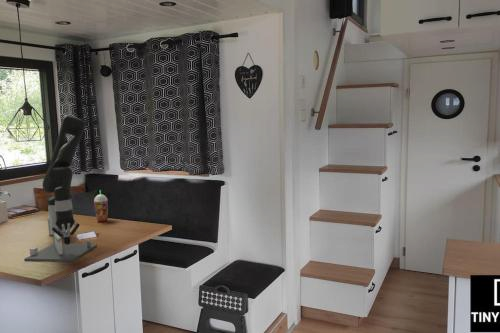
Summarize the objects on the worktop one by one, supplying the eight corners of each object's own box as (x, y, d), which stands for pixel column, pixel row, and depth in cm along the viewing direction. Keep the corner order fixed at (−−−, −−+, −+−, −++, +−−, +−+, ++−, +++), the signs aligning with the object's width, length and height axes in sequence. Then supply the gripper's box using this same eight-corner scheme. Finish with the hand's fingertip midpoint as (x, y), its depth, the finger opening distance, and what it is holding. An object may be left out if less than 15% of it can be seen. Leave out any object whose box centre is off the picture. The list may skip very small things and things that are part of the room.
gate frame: (23, 260, 202) (21, 240, 200) (52, 245, 224) (50, 227, 223) (72, 261, 198) (70, 241, 197) (97, 246, 221) (95, 228, 219)
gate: (55, 247, 216) (53, 233, 216) (59, 246, 217) (57, 232, 216) (58, 254, 204) (57, 239, 203) (63, 254, 205) (61, 239, 204)
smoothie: (97, 219, 278) (95, 189, 275) (110, 219, 278) (108, 188, 276) (93, 223, 269) (91, 191, 267) (107, 222, 270) (105, 190, 268)
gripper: (77, 205, 212) (81, 239, 214) (48, 209, 206) (52, 244, 208) (79, 208, 205) (83, 243, 208) (49, 212, 199) (52, 248, 202)
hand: (67, 244), depth 208 cm, fingers closed
